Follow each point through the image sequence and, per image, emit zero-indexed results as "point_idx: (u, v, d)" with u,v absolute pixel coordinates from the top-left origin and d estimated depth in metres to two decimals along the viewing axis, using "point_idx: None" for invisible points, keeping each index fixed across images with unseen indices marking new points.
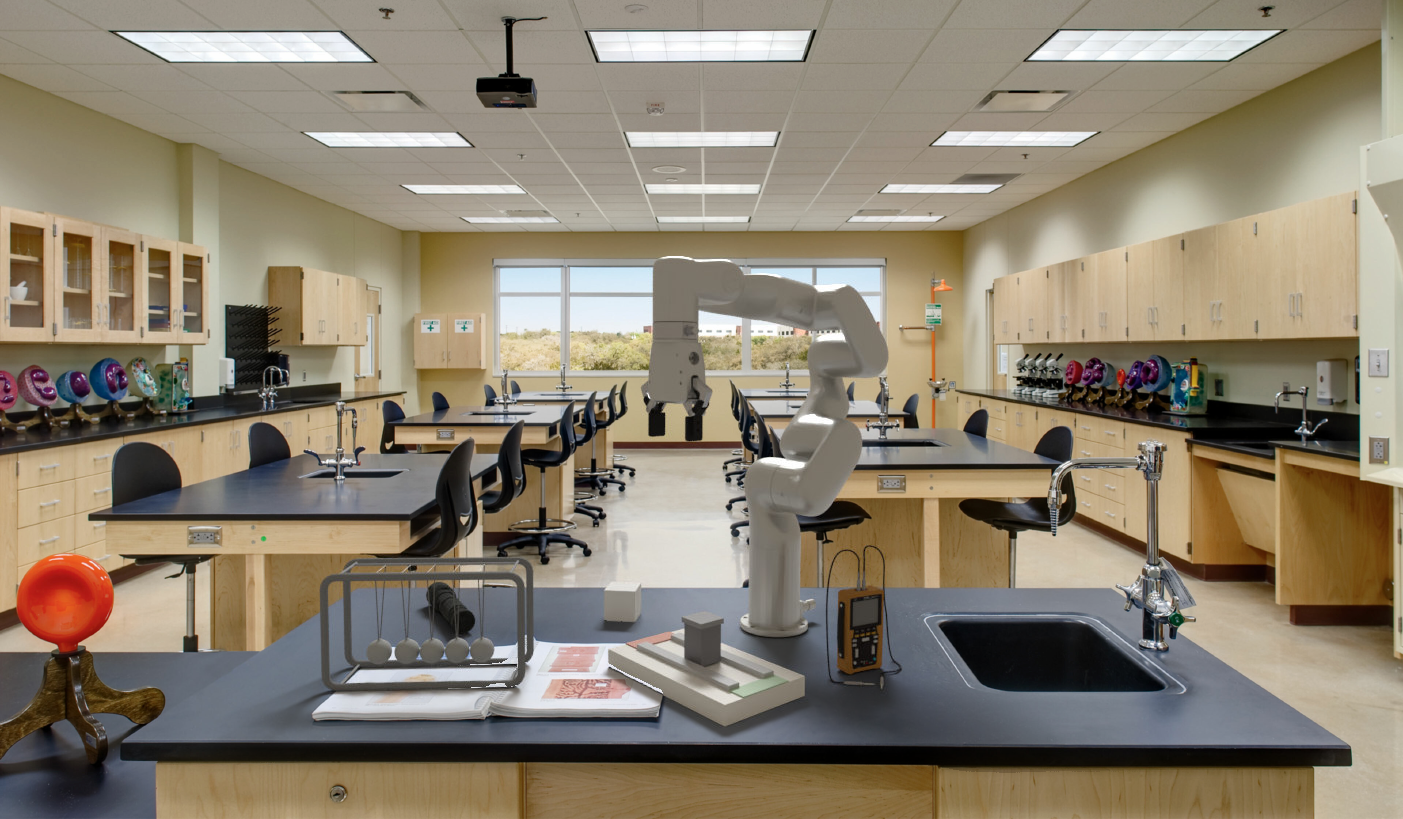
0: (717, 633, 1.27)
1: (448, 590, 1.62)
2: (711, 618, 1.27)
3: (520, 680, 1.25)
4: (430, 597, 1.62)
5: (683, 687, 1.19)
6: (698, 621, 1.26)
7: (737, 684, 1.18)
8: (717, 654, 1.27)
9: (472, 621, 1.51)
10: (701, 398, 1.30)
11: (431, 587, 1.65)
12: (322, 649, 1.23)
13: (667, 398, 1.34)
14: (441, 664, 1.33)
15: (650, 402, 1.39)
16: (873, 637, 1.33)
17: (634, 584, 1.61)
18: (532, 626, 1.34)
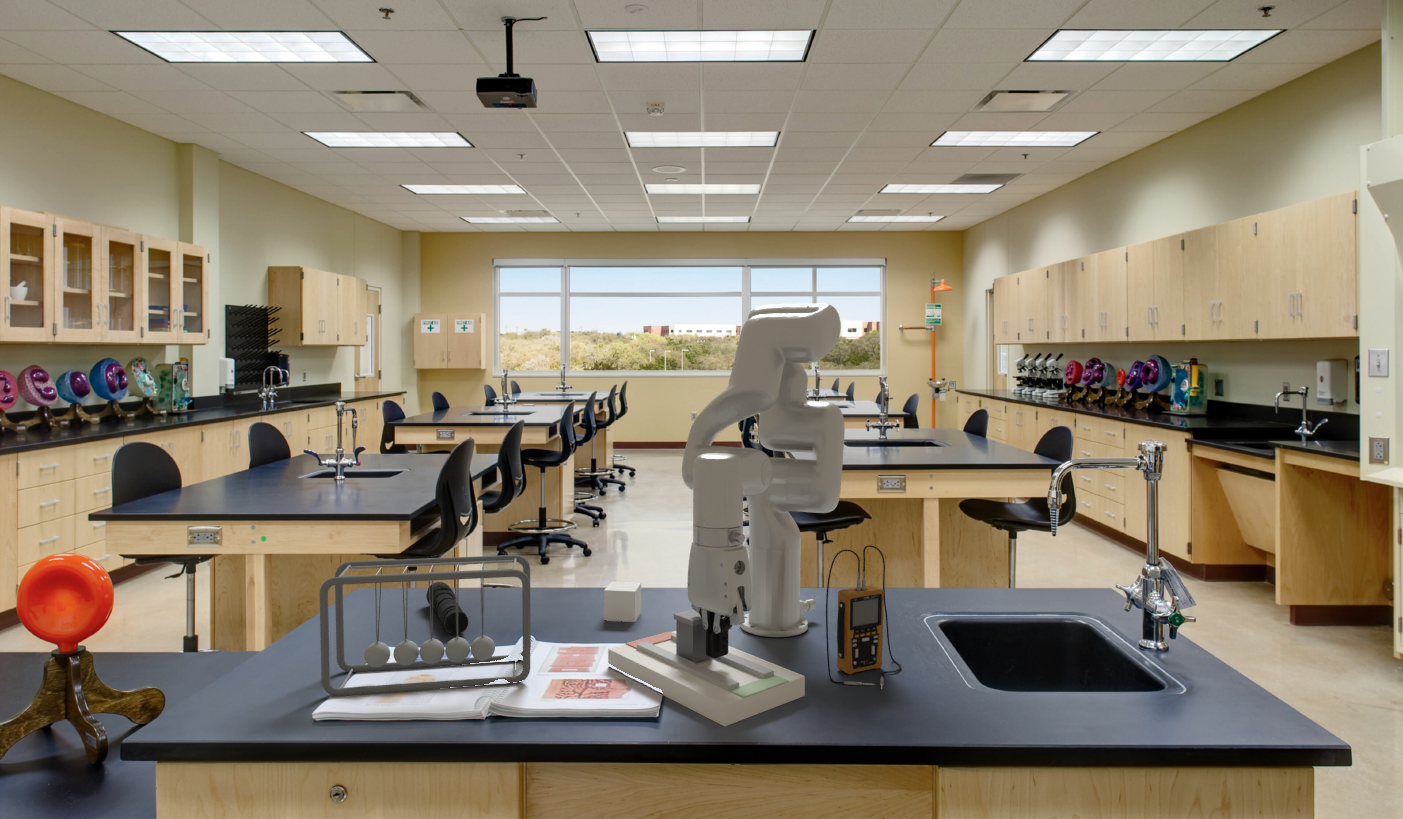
0: None
1: (447, 590, 1.62)
2: None
3: (526, 675, 1.27)
4: None
5: (683, 687, 1.19)
6: (690, 618, 1.27)
7: (737, 684, 1.18)
8: None
9: (465, 622, 1.50)
10: (730, 620, 1.22)
11: (431, 587, 1.64)
12: (322, 654, 1.21)
13: (710, 607, 1.23)
14: (438, 664, 1.33)
15: (703, 617, 1.26)
16: (873, 637, 1.33)
17: (634, 584, 1.61)
18: (529, 623, 1.36)
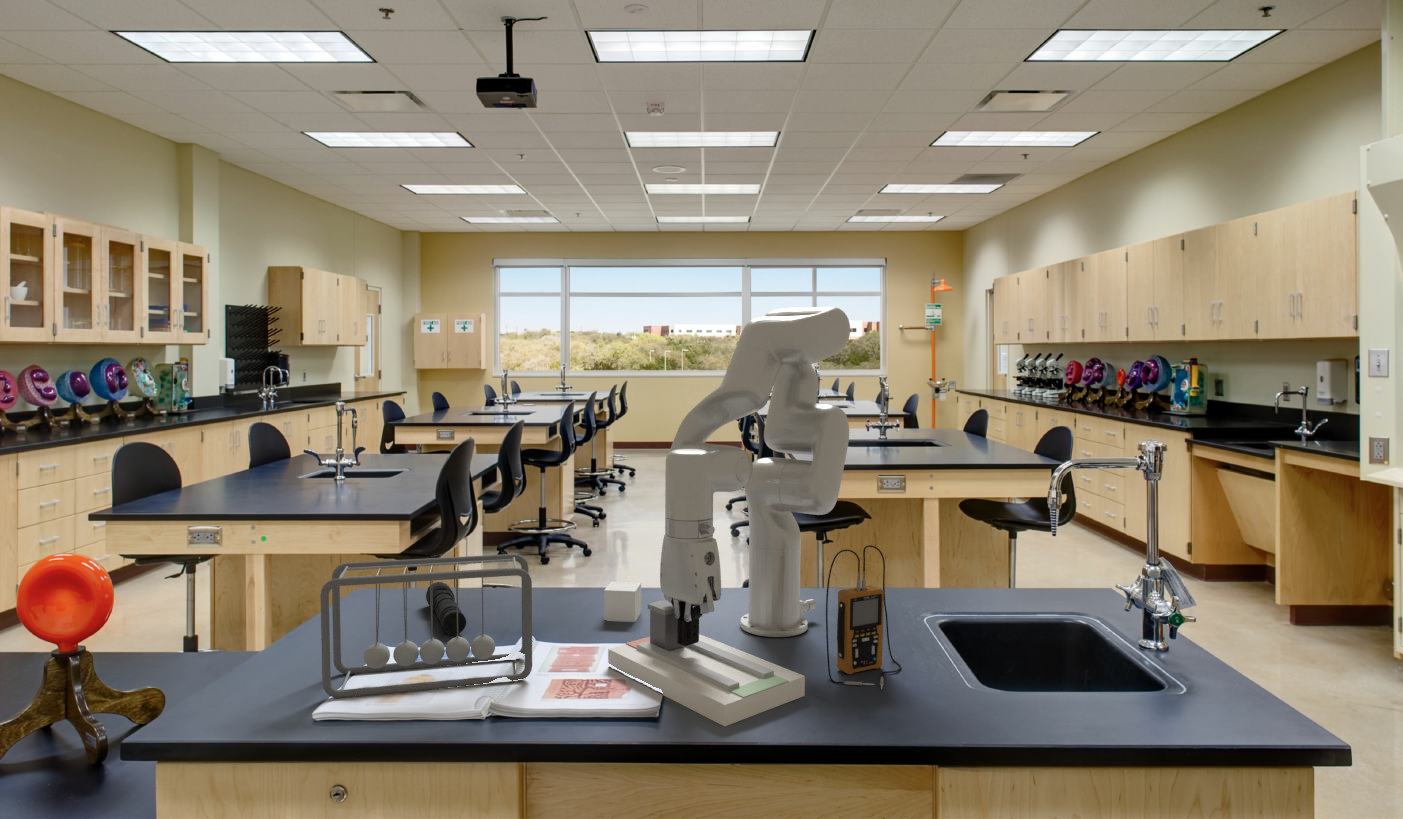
0: None
1: (446, 591, 1.62)
2: None
3: (528, 673, 1.28)
4: (428, 597, 1.62)
5: (683, 687, 1.19)
6: (663, 607, 1.32)
7: (737, 684, 1.18)
8: None
9: (463, 623, 1.49)
10: (700, 609, 1.27)
11: None
12: (324, 656, 1.20)
13: (681, 597, 1.28)
14: (436, 665, 1.33)
15: (675, 606, 1.31)
16: (873, 637, 1.33)
17: (634, 584, 1.61)
18: None
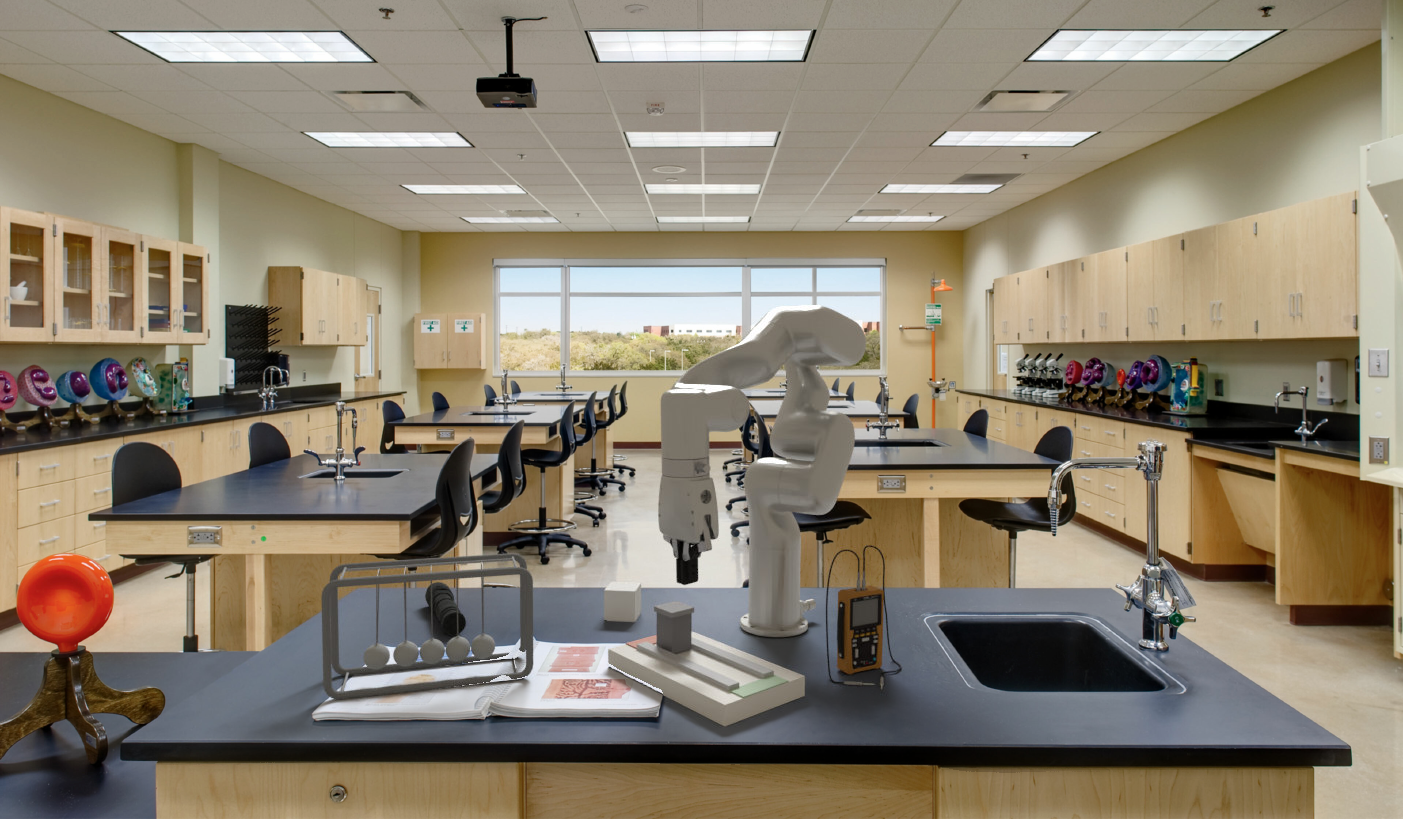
0: (688, 622, 1.33)
1: (445, 591, 1.62)
2: (682, 607, 1.33)
3: (529, 672, 1.28)
4: (428, 597, 1.62)
5: (683, 687, 1.19)
6: (669, 610, 1.31)
7: (737, 684, 1.18)
8: (687, 642, 1.33)
9: (463, 623, 1.49)
10: (698, 547, 1.28)
11: (430, 587, 1.64)
12: (325, 658, 1.19)
13: (679, 536, 1.29)
14: (435, 665, 1.33)
15: (673, 546, 1.31)
16: (873, 637, 1.33)
17: (634, 584, 1.61)
18: None
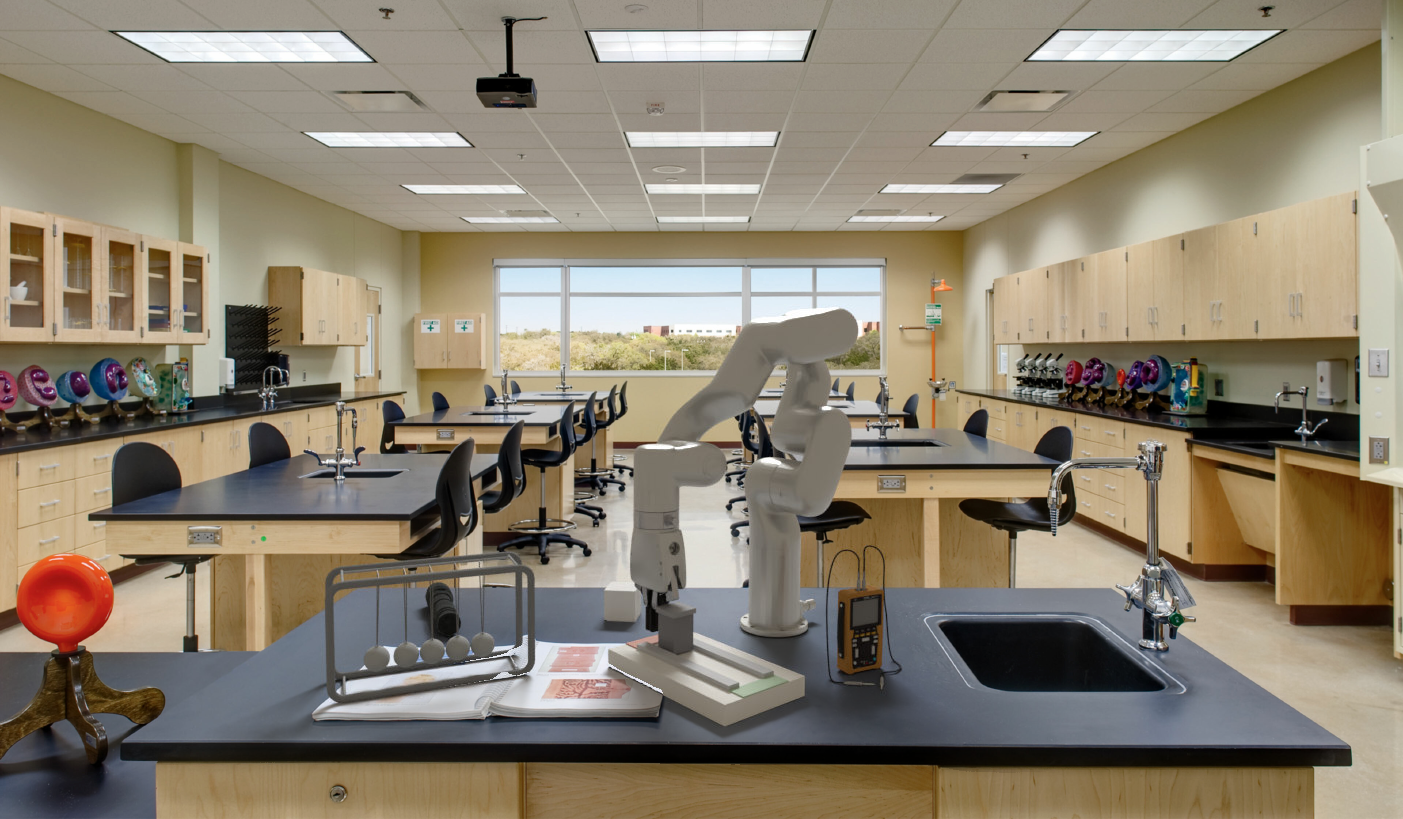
0: (690, 623, 1.32)
1: (444, 591, 1.61)
2: (684, 608, 1.32)
3: (531, 667, 1.30)
4: (427, 597, 1.62)
5: (683, 687, 1.19)
6: (671, 611, 1.31)
7: (737, 684, 1.18)
8: (689, 643, 1.32)
9: None
10: (666, 596, 1.33)
11: None
12: (328, 661, 1.18)
13: (648, 585, 1.35)
14: (432, 665, 1.33)
15: (643, 594, 1.37)
16: (873, 637, 1.33)
17: None
18: (522, 617, 1.39)
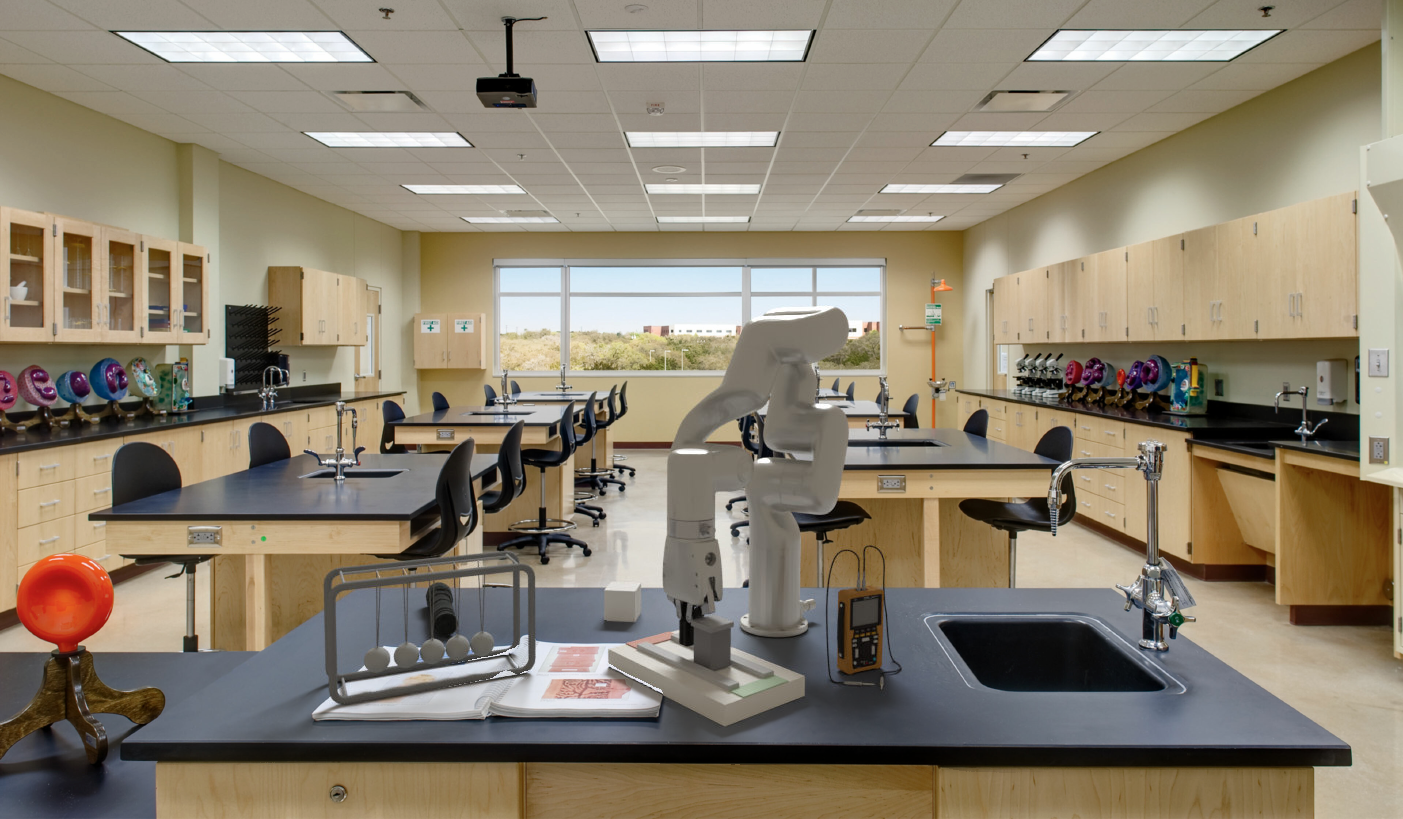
0: (727, 637, 1.25)
1: (444, 591, 1.61)
2: (721, 622, 1.26)
3: (532, 665, 1.31)
4: (427, 597, 1.62)
5: (683, 687, 1.19)
6: (708, 625, 1.24)
7: (737, 684, 1.18)
8: (727, 658, 1.26)
9: (455, 624, 1.49)
10: (701, 609, 1.27)
11: (430, 587, 1.64)
12: (331, 663, 1.17)
13: (682, 597, 1.28)
14: (430, 665, 1.33)
15: (677, 606, 1.30)
16: (873, 637, 1.33)
17: (634, 584, 1.61)
18: (519, 616, 1.39)
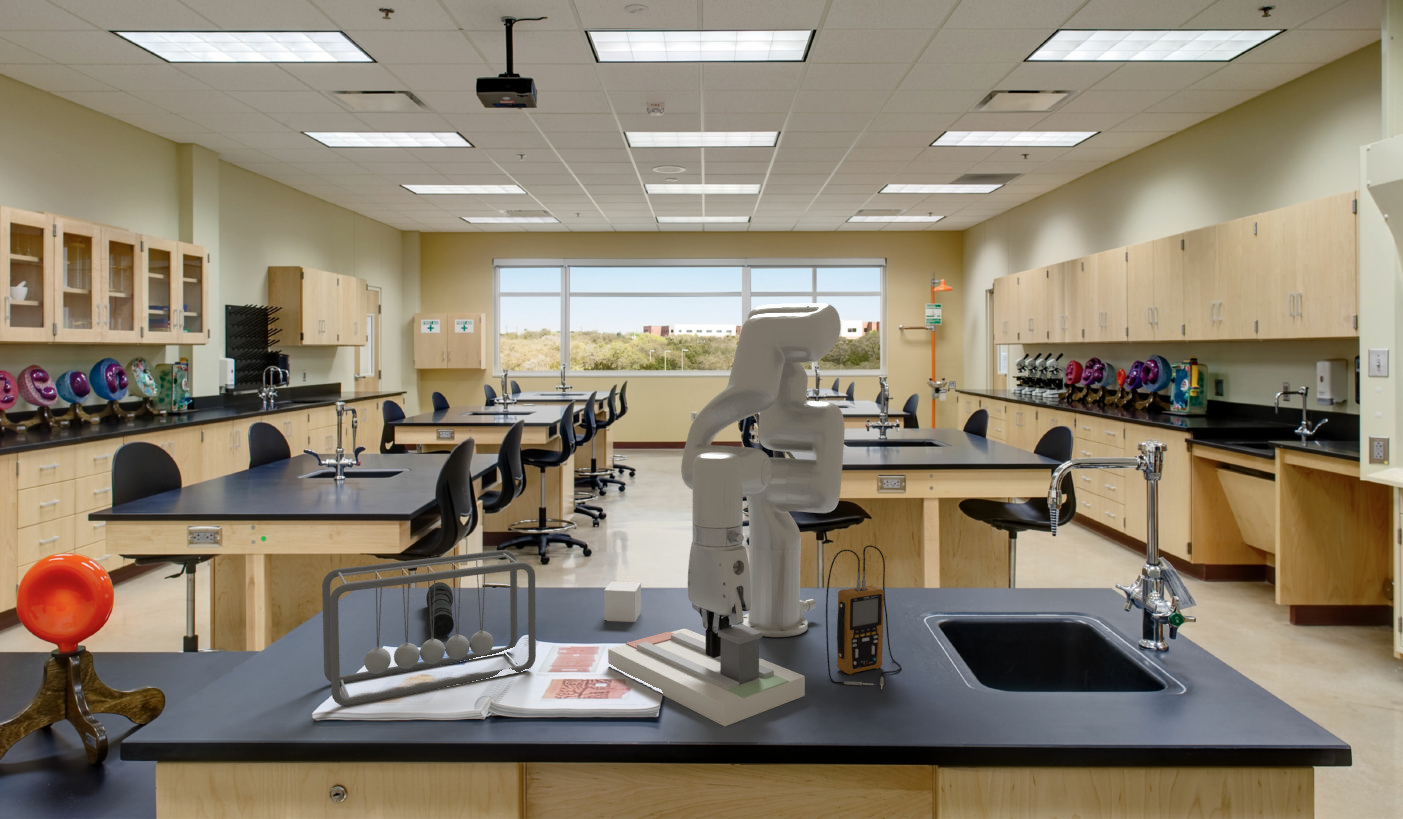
0: (755, 648, 1.21)
1: (444, 591, 1.61)
2: (749, 632, 1.21)
3: (532, 663, 1.32)
4: (427, 597, 1.62)
5: (683, 687, 1.19)
6: (736, 635, 1.19)
7: (737, 684, 1.18)
8: (755, 670, 1.21)
9: (451, 625, 1.48)
10: (729, 620, 1.22)
11: (431, 587, 1.64)
12: (334, 664, 1.17)
13: (709, 607, 1.23)
14: (429, 665, 1.33)
15: (703, 616, 1.25)
16: (873, 637, 1.33)
17: (634, 584, 1.61)
18: (516, 615, 1.40)
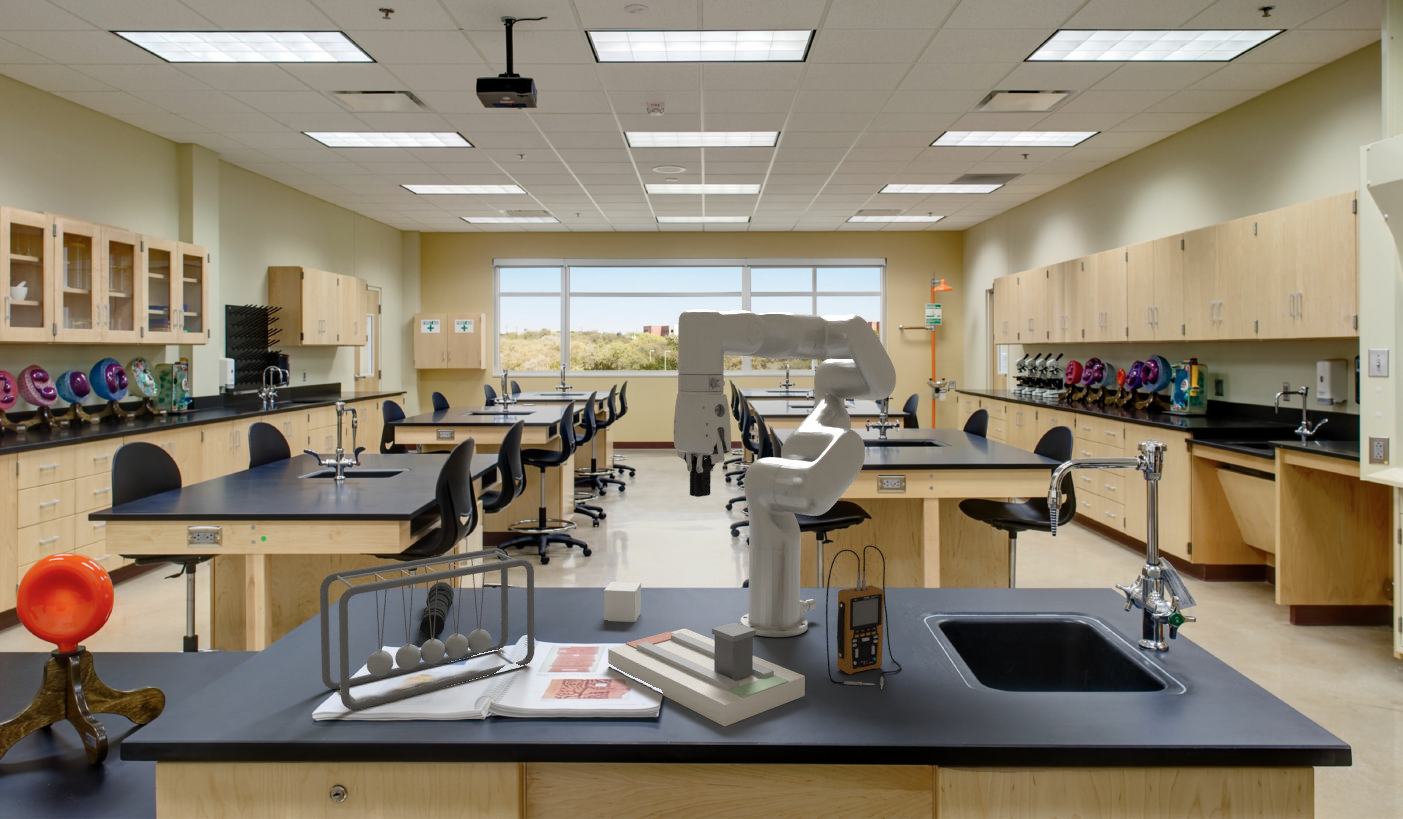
0: (749, 646, 1.22)
1: (443, 591, 1.61)
2: (743, 630, 1.22)
3: (531, 658, 1.34)
4: None
5: (683, 687, 1.19)
6: (729, 633, 1.20)
7: (737, 684, 1.18)
8: (748, 668, 1.22)
9: (442, 626, 1.48)
10: (711, 459, 1.35)
11: (432, 587, 1.64)
12: (344, 668, 1.15)
13: (693, 449, 1.36)
14: (425, 666, 1.32)
15: (687, 460, 1.38)
16: (873, 637, 1.33)
17: (634, 584, 1.61)
18: (507, 612, 1.42)
